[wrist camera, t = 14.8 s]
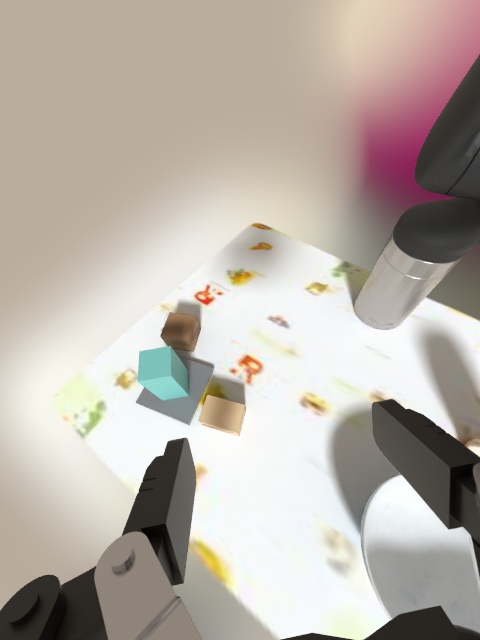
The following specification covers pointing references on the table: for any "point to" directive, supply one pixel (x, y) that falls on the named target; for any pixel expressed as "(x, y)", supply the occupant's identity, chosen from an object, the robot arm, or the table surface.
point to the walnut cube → (181, 331)
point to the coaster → (181, 406)
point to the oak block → (222, 415)
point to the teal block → (163, 373)
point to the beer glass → (474, 446)
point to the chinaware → (417, 556)
